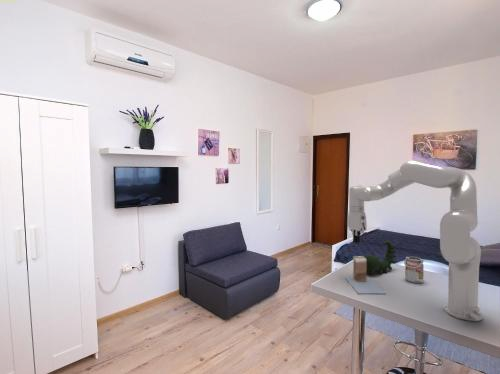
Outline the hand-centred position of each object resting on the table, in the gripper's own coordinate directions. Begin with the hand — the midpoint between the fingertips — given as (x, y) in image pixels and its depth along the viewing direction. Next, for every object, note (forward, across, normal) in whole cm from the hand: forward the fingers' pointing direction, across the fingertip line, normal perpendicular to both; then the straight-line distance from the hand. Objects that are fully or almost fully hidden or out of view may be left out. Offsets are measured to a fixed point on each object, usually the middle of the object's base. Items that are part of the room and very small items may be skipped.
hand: (356, 242), depth 148 cm
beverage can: (+20, -15, -24) cm, 35 cm away
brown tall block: (+19, -4, +1) cm, 20 cm away
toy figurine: (+20, +2, -17) cm, 26 cm away
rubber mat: (+20, -10, +4) cm, 22 cm away
